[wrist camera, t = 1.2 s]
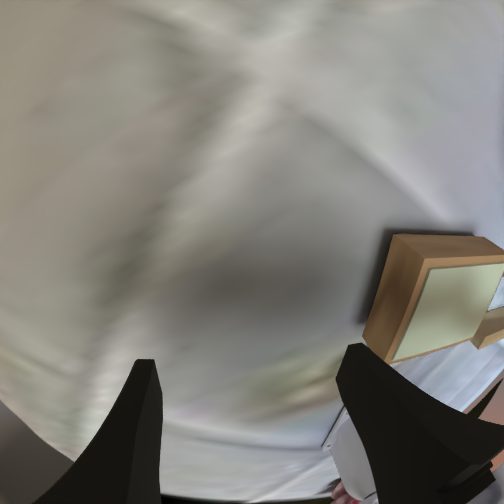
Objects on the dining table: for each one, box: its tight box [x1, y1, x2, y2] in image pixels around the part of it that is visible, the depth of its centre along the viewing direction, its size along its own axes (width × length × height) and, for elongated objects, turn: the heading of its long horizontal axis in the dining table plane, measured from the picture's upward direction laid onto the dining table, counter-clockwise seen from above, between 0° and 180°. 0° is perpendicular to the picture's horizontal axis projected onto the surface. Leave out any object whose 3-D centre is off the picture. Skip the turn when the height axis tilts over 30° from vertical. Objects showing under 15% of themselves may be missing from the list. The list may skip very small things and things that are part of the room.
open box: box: [362, 232, 504, 364], centre depth 16 cm, size 7×9×4 cm
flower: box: [329, 480, 360, 504], centre depth 35 cm, size 15×15×10 cm
